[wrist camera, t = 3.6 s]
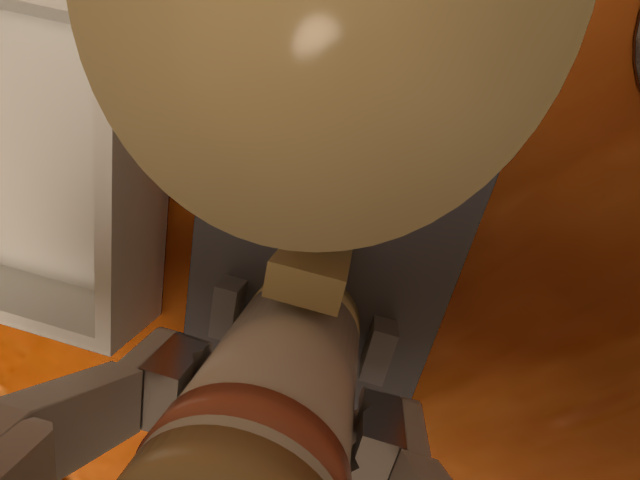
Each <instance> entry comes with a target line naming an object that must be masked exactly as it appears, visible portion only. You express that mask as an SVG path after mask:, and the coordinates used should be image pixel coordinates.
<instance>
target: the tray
mask: <svg viewBox="0 0 640 480" xmlns="http://www.w3.org/2000/svg"><path fill="white" fill-rule="evenodd" d="M168 201H169V196H168V195H167V194H166V193H165V192H164V191H163V190H162V189H161V188H160V187H159V186H158V185H157V184H156V183H155V182H154V181H153V180H152V179H151V178H150V177H149V176H148V175H147V174H146V173H145V172H144V171H143V170H142V169H141V168H140V166H139V165H138V164H137V163H136V161H135V160H134V159H133V158H132V156H131V155H130V154H129V153H128V151H127V150H126V149H125V148H124V146H123V144H122V143H121V141H120V140H119V138H118V137H117V135H116V134H115V132H114V131H113V129H112V127H111V126H110V124H109V123H108V121H107V119H106V117H105V115H104V113H103V111H102V109H101V107H100V105H99V103H98V102H97V100H96V98H95V96H94V94H93V91H92V89H91V86H90V84H89V81H88V79H87V76H86V73H85V71H84V68H83V66H82V63H81V61H80V57H79V53H78V50H77V46H76V43H75V39H74V36H73V32H72V29H71V24H70V18H69V13H68V7H67V2H66V0H0V324H3V325H6V326H10V327H13V328H16V329H20V330H23V331H26V332H30V333H33V334H36V335H40V336H43V337H46V338H50V339H53V340H56V341H60V342H63V343H66V344H70V345H73V346H76V347H79V348H83V349H86V350H89V351H93V352H96V353H99V354H103V355H106V356H109V357H111V356H112V355H113V354H114V353H116V352H117V351H118V350H119V349H120V348H121V347H123V346H124V345H125V344H126V343H127V342H129V341H130V340H131V339H132V338H133V337H135V336H136V335H137V334H138V333H139V332H141V331H142V330H143V329H144V328H145V327H147V326H148V325H149V324H150V323H151V322H153V321H154V320H155V319H156V318H157V317H159V316H160V315H161V306H162V291H163V276H164V261H165V246H166V231H167V216H168Z"/></svg>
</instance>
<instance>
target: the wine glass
mask: <svg viewBox="0 0 640 480" xmlns="http://www.w3.org/2000/svg"><path fill="white" fill-rule="evenodd" d="M633 66H634V71H635V77H636V83H637V86H638V88H639V91H640V11H639V13H638V18H637V23H636V28H635V33H634V38H633Z"/></svg>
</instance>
